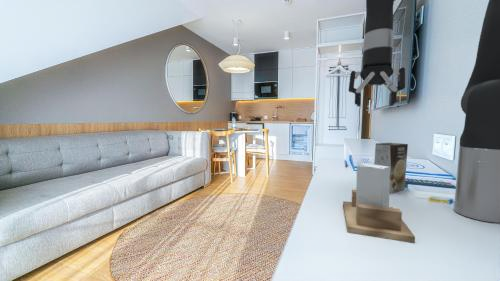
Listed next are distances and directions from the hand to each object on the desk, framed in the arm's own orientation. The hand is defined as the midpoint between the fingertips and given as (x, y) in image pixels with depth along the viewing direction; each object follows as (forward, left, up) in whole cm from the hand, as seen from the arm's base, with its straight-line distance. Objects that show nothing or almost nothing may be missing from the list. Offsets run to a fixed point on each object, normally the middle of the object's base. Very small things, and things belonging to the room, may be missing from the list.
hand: (374, 106), depth 65 cm
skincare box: (+2, +17, -27) cm, 32 cm away
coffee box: (-8, -13, -28) cm, 32 cm away
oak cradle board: (+2, +17, -28) cm, 33 cm away
